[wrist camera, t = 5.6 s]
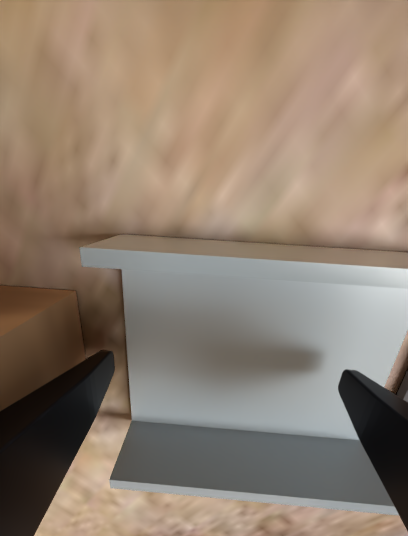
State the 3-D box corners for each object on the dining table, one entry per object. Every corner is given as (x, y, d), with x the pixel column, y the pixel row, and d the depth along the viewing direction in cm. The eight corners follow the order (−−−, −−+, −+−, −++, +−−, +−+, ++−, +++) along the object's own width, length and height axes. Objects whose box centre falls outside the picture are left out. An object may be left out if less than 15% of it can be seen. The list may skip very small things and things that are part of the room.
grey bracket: (429, 253, 7) (539, 277, 5) (354, 440, 10) (399, 515, 8) (122, 233, 7) (79, 247, 5) (134, 421, 10) (110, 488, 8)
